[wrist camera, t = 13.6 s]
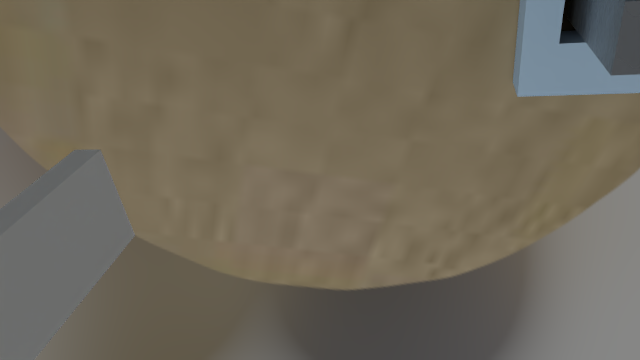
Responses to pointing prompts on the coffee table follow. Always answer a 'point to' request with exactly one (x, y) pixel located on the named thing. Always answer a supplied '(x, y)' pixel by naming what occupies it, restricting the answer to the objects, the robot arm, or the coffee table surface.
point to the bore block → (559, 57)
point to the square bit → (610, 32)
